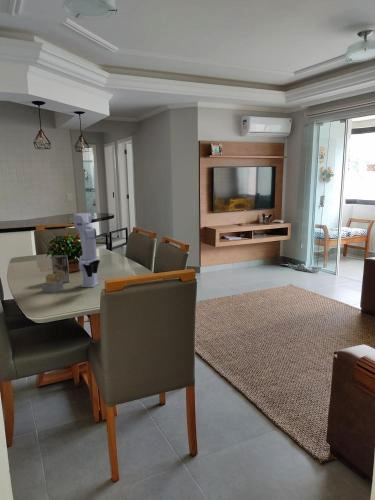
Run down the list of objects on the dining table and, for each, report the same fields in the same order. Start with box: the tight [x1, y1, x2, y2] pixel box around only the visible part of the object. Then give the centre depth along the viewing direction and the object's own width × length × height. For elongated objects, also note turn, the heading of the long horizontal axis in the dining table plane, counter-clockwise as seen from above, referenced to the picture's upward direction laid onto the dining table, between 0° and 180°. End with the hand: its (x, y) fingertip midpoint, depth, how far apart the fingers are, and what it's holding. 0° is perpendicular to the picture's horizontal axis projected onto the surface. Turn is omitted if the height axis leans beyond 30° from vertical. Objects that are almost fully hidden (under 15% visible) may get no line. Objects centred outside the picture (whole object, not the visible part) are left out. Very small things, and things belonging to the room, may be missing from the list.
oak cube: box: [45, 273, 59, 285], centre depth 204 cm, size 5×5×5 cm
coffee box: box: [51, 254, 71, 284], centre depth 221 cm, size 9×6×16 cm
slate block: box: [41, 282, 64, 294], centre depth 205 cm, size 8×8×4 cm
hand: (92, 274), depth 198 cm, fingers open, 7 cm apart
